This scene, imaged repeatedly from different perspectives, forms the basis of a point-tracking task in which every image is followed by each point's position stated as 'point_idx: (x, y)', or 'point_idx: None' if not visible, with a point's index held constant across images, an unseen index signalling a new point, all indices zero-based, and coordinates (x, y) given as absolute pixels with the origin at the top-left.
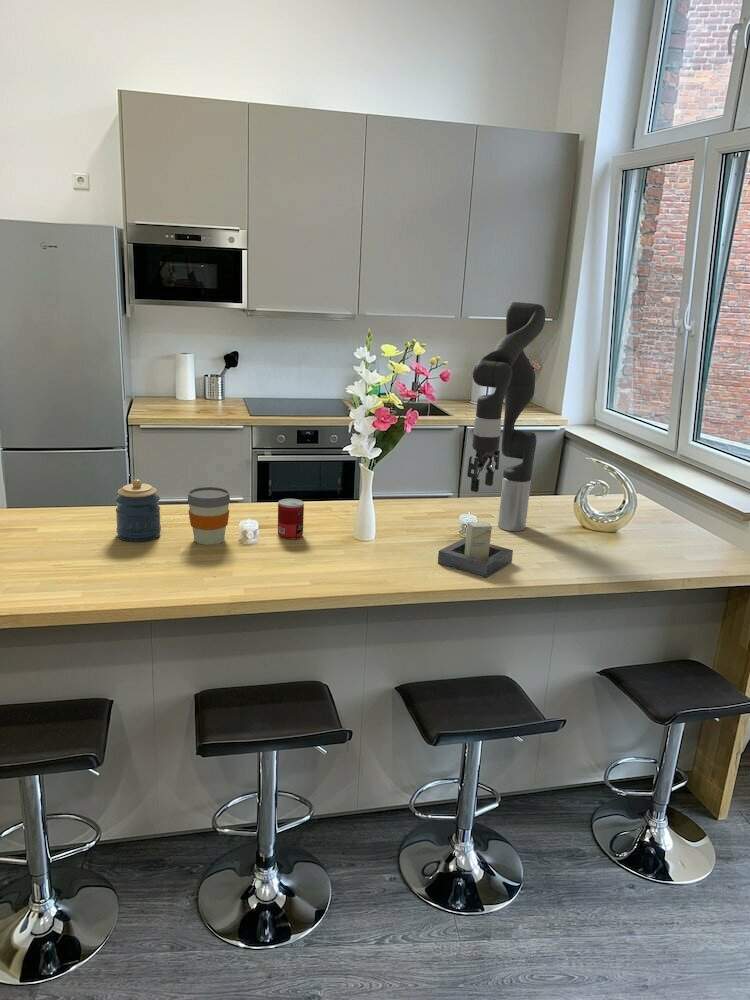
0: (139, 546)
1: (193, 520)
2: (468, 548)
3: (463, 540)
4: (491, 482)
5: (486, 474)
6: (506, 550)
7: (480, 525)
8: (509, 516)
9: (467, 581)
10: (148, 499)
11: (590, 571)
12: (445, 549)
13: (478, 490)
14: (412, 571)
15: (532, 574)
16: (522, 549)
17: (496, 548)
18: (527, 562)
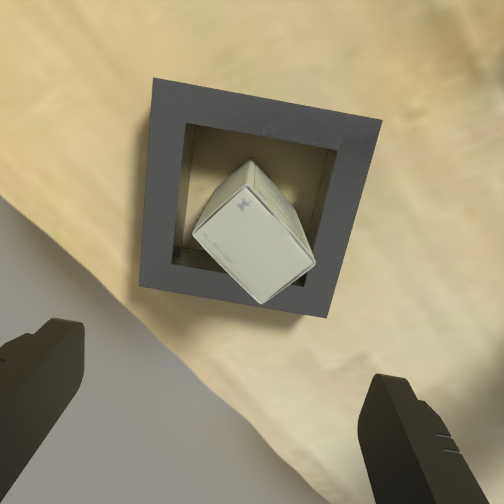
0: None
1: None
2: (220, 190)
3: (335, 125)
4: (367, 457)
5: (421, 481)
6: (311, 301)
7: (234, 258)
8: None
9: (93, 228)
10: None
11: (365, 467)
12: (185, 97)
13: (73, 391)
14: (37, 27)
15: (262, 363)
16: (463, 294)
17: (313, 267)
18: (349, 332)
